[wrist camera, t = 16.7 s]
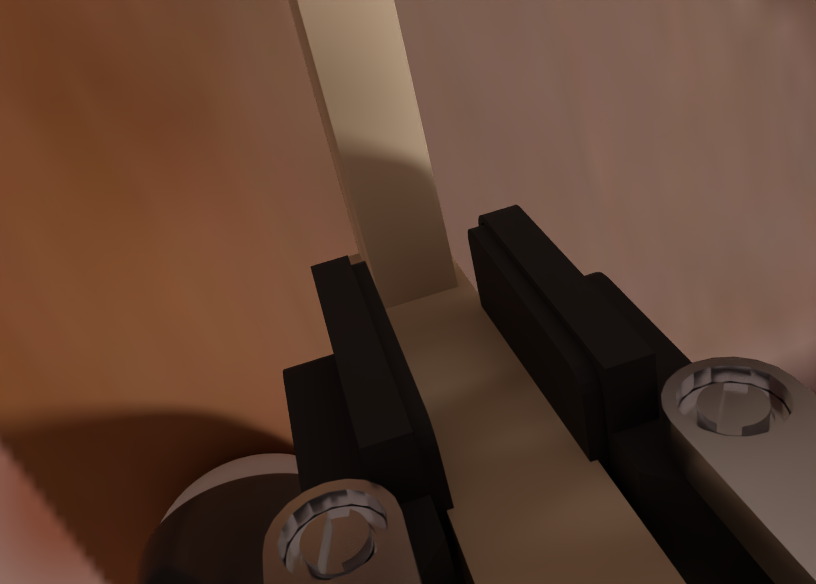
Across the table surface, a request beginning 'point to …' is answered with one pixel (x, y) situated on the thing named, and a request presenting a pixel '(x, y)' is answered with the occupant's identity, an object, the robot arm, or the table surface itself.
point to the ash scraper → (460, 333)
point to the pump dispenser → (221, 524)
